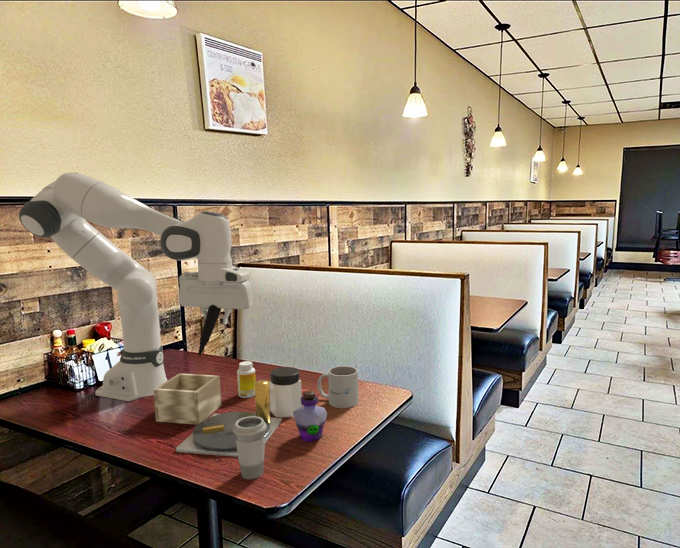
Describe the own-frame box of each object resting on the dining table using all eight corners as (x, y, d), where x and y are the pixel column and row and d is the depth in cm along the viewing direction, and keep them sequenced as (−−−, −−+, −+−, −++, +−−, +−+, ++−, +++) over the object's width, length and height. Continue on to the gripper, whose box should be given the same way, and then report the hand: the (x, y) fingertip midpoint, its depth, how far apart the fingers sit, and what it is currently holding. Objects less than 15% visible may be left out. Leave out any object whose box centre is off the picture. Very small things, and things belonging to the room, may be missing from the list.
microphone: (184, 349, 120) (208, 282, 131) (194, 359, 125) (216, 294, 136) (204, 350, 119) (226, 282, 130) (213, 360, 123) (234, 294, 135)
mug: (364, 401, 142) (363, 369, 140) (347, 412, 135) (347, 378, 133) (330, 393, 149) (329, 362, 147) (313, 403, 142) (311, 370, 140)
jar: (306, 414, 134) (304, 373, 132) (279, 421, 130) (277, 379, 128) (293, 403, 141) (291, 364, 140) (267, 409, 138) (265, 369, 136)
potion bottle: (305, 450, 114) (303, 402, 112) (286, 437, 121) (285, 391, 119) (335, 440, 119) (333, 393, 117) (315, 427, 126) (314, 383, 124)
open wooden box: (155, 421, 132) (153, 389, 130) (181, 402, 144) (179, 373, 143) (199, 424, 129) (197, 392, 128) (221, 405, 141) (219, 375, 140)
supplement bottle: (259, 395, 148) (258, 363, 147) (243, 400, 145) (241, 367, 143) (250, 390, 153) (249, 359, 151) (234, 395, 149) (233, 363, 148)
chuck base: (176, 451, 115) (176, 447, 115) (214, 416, 134) (214, 413, 134) (253, 459, 110) (253, 455, 110) (281, 421, 129) (281, 418, 129)
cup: (243, 487, 99) (240, 432, 98) (230, 473, 105) (227, 421, 103) (274, 475, 103) (272, 422, 102) (260, 463, 109) (257, 412, 107)
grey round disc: (194, 455, 110) (190, 407, 108) (191, 421, 128) (188, 379, 126) (277, 441, 116) (275, 394, 114) (264, 410, 134) (262, 369, 132)
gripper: (173, 273, 128) (174, 324, 129) (246, 276, 124) (247, 328, 126) (185, 270, 134) (186, 319, 136) (255, 272, 130) (255, 323, 132)
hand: (216, 323), depth 131 cm, fingers closed on microphone, 3 cm apart
